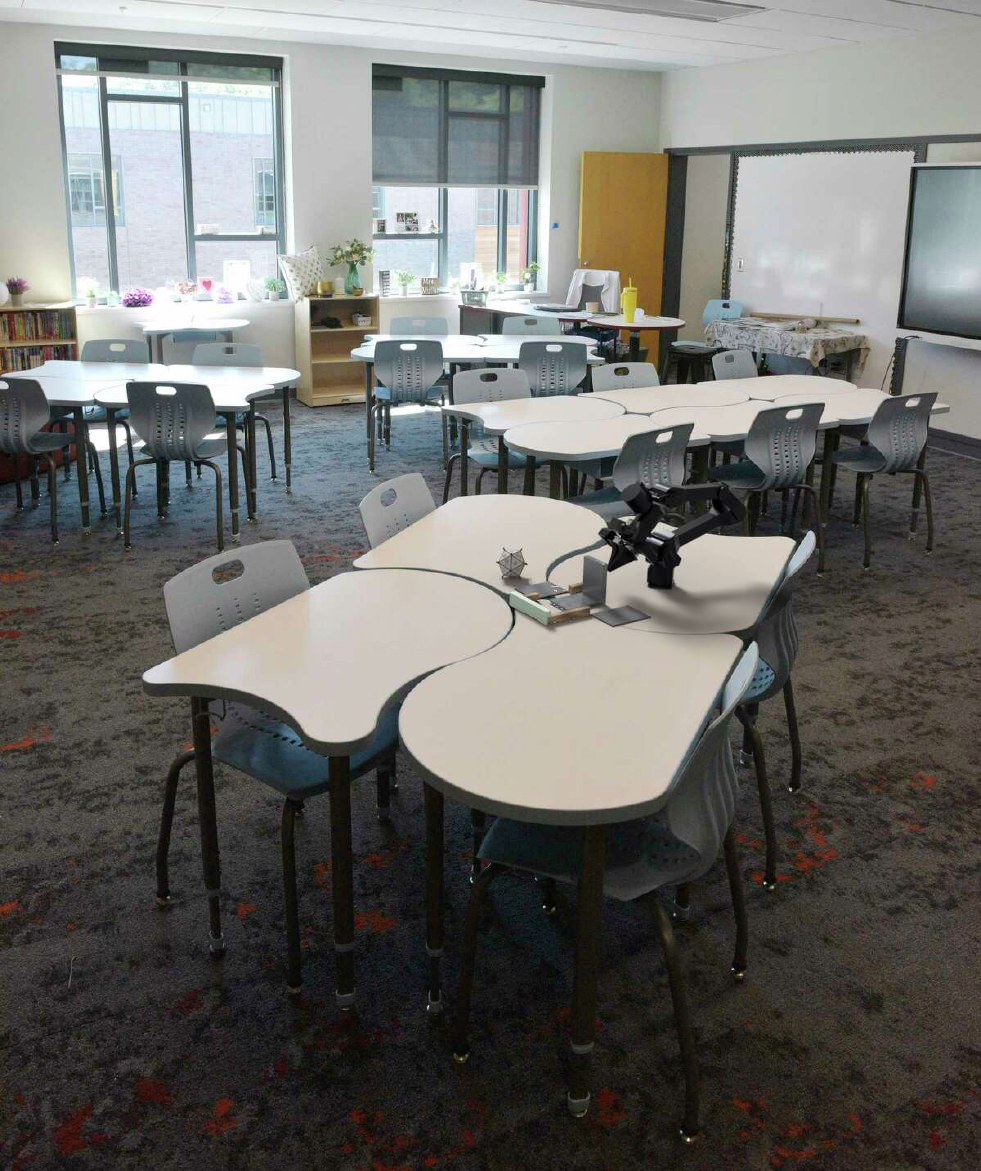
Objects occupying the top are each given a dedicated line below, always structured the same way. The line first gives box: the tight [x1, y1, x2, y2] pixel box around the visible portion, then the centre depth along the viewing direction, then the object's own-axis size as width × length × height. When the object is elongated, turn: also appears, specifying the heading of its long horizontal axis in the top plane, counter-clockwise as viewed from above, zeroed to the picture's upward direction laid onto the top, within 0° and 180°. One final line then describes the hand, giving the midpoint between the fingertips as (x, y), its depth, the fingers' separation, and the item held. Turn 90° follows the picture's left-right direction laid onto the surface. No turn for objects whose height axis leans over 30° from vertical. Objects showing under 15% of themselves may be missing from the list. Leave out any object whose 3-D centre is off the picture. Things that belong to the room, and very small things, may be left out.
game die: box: [495, 547, 528, 580], centre depth 294 cm, size 9×8×10 cm
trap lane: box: [514, 580, 652, 628], centre depth 275 cm, size 25×34×2 cm
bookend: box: [548, 555, 608, 611], centre depth 275 cm, size 12×8×11 cm, turn 122°
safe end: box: [509, 590, 552, 626], centre depth 268 cm, size 2×16×4 cm, turn 32°
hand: (608, 571), depth 279 cm, fingers closed
